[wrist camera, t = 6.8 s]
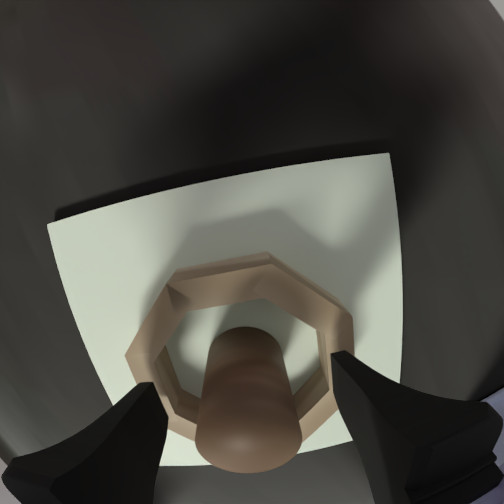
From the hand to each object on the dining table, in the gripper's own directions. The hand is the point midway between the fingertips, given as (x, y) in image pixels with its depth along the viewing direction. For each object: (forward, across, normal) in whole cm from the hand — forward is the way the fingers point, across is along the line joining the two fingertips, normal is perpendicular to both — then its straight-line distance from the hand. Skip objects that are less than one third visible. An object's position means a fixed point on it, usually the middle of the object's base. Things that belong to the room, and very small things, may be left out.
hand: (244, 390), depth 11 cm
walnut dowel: (+3, 0, 0) cm, 3 cm away
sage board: (+3, 0, 0) cm, 3 cm away
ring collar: (+3, 0, 0) cm, 3 cm away
